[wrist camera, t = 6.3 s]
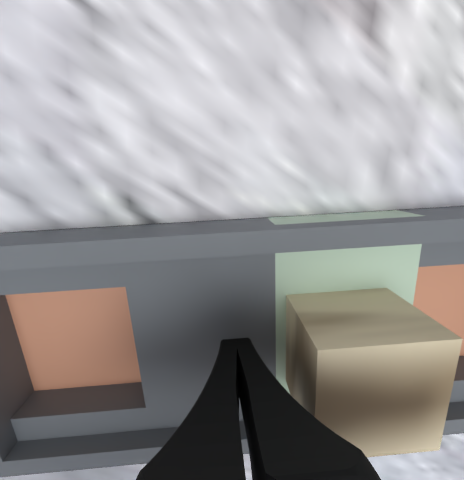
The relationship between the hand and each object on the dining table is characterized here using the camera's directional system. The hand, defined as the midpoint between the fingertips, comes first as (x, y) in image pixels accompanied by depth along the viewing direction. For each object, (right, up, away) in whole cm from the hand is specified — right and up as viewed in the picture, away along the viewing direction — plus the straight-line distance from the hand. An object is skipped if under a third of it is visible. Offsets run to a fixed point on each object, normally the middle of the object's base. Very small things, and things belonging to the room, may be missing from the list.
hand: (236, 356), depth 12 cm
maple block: (+5, +1, +1) cm, 5 cm away
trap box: (+2, +1, +3) cm, 4 cm away
